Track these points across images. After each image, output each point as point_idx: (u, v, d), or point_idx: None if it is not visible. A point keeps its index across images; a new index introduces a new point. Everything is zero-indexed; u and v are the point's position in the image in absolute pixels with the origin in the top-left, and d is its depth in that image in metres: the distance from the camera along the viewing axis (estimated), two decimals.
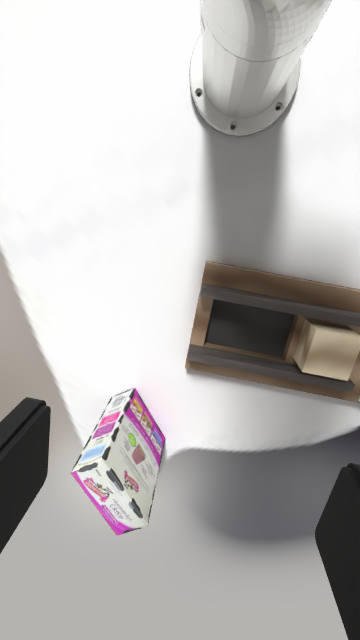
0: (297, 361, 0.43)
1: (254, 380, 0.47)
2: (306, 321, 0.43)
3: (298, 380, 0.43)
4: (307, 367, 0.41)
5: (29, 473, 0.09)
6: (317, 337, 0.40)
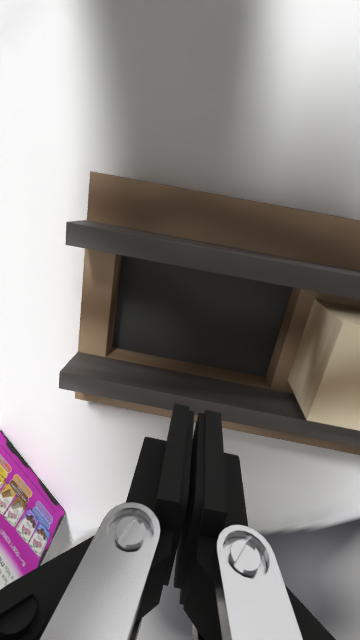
0: (296, 391, 0.20)
1: None
2: (316, 304, 0.20)
3: (298, 432, 0.20)
4: (318, 410, 0.18)
5: None
6: (344, 342, 0.16)
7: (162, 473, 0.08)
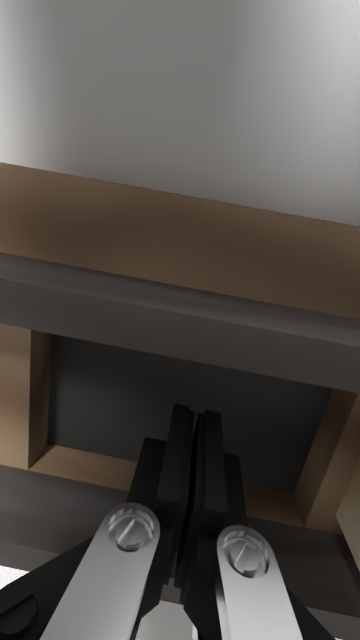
0: (359, 558, 0.11)
1: None
2: None
3: None
4: None
5: None
6: None
7: (162, 473, 0.08)
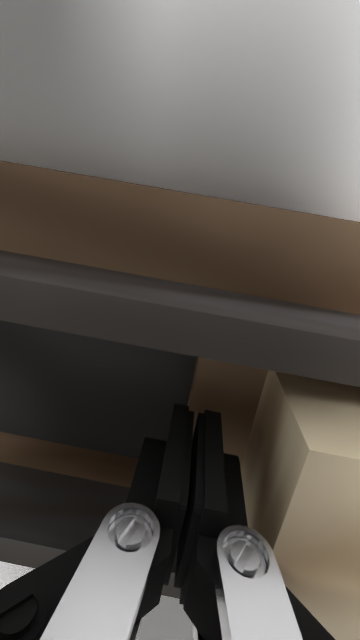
0: None
1: None
2: (272, 375, 0.11)
3: None
4: None
5: None
6: (314, 488, 0.07)
7: (162, 473, 0.08)
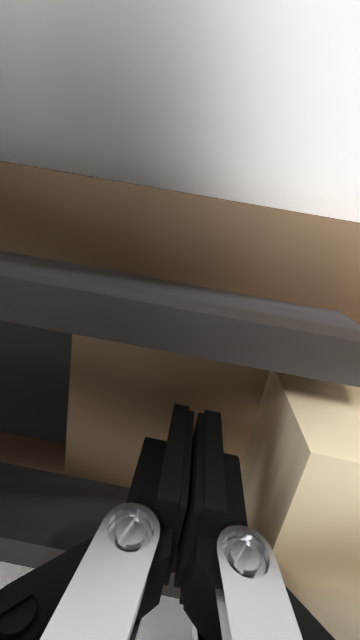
0: None
1: None
2: (273, 376, 0.11)
3: None
4: None
5: None
6: (314, 491, 0.07)
7: (162, 473, 0.08)
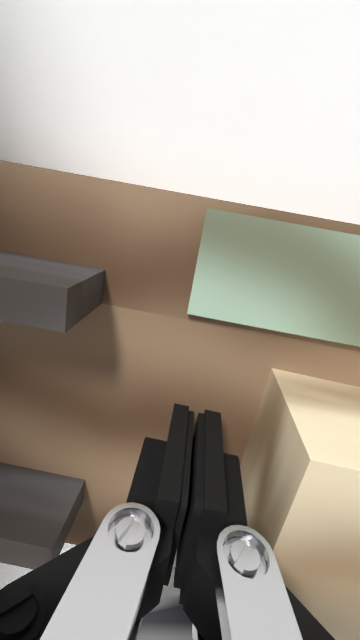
0: None
1: None
2: (273, 381, 0.11)
3: None
4: None
5: None
6: (313, 497, 0.07)
7: (162, 473, 0.08)
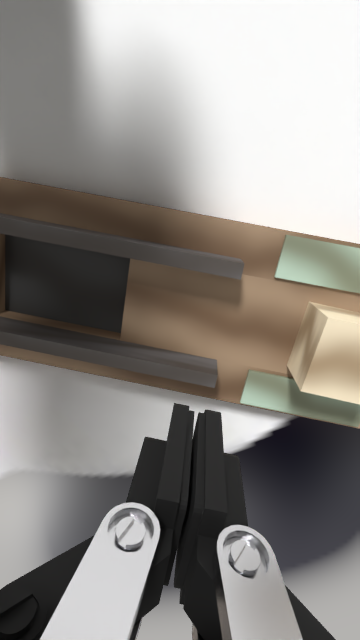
0: (293, 372, 0.26)
1: (80, 369, 0.30)
2: (310, 305, 0.26)
3: (126, 367, 0.26)
4: (309, 383, 0.24)
5: None
6: (328, 331, 0.22)
7: (162, 473, 0.08)
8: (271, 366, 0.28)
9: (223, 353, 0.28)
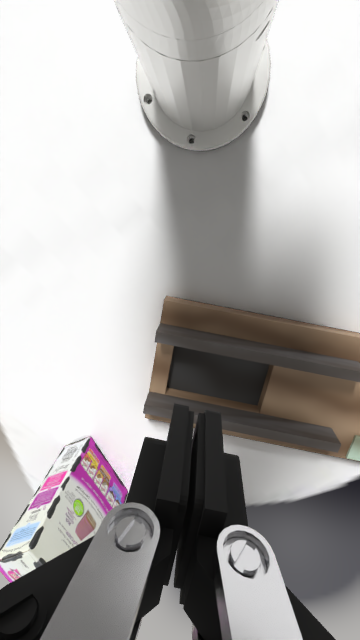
0: None
1: (225, 432, 0.40)
2: None
3: (274, 438, 0.36)
4: None
5: None
6: None
7: (162, 473, 0.08)
8: None
9: (337, 423, 0.39)
